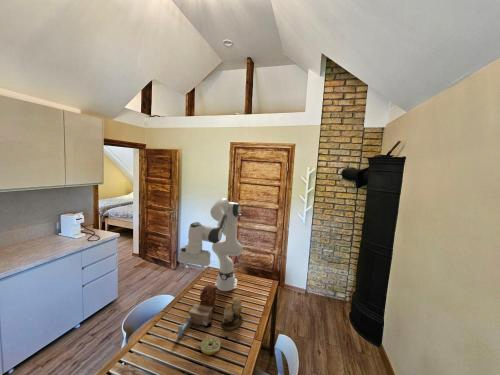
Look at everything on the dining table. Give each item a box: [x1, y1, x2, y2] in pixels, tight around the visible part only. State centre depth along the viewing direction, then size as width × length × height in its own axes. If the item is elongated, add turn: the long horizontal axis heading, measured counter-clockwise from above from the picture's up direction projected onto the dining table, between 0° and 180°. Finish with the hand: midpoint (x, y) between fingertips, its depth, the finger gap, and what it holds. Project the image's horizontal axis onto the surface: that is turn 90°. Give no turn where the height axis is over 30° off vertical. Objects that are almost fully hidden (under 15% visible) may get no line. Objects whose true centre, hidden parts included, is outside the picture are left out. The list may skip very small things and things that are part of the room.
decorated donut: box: [199, 336, 221, 356], centre depth 122 cm, size 10×11×4 cm
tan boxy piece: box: [185, 303, 214, 329], centre depth 142 cm, size 14×13×7 cm
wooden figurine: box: [199, 284, 217, 312], centre depth 153 cm, size 12×6×18 cm, turn 147°
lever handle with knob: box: [177, 315, 191, 340], centre depth 133 cm, size 12×3×7 cm, turn 168°
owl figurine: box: [220, 296, 244, 333], centre depth 143 cm, size 18×12×17 cm, turn 150°
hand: (193, 270), depth 139 cm, fingers open, 8 cm apart
